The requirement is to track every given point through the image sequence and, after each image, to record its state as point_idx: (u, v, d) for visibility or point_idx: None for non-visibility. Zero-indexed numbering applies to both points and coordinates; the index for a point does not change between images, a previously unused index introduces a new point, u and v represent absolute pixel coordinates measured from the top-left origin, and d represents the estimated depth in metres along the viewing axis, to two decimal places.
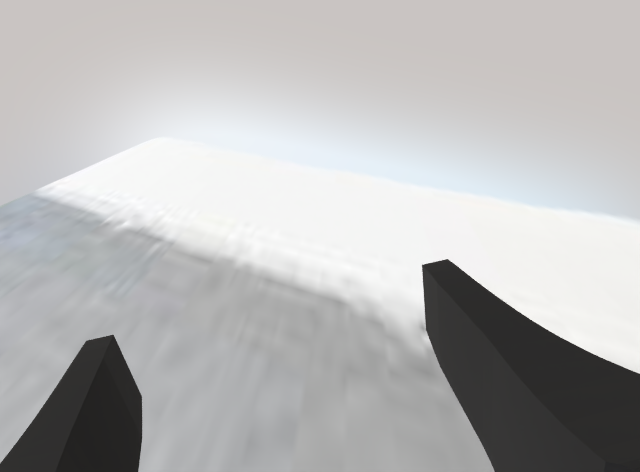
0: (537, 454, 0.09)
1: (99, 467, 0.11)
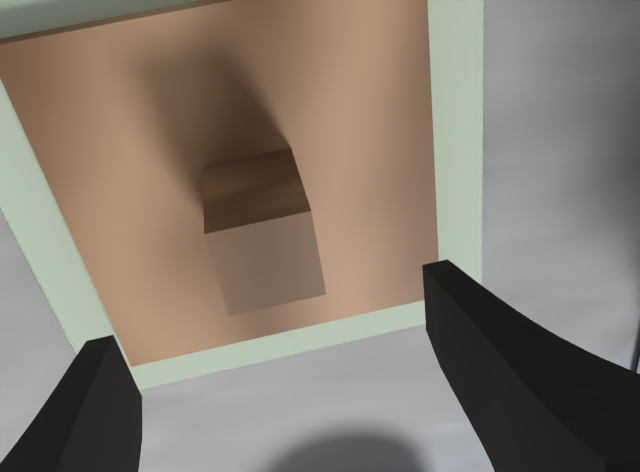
0: (537, 454, 0.09)
1: (99, 467, 0.11)
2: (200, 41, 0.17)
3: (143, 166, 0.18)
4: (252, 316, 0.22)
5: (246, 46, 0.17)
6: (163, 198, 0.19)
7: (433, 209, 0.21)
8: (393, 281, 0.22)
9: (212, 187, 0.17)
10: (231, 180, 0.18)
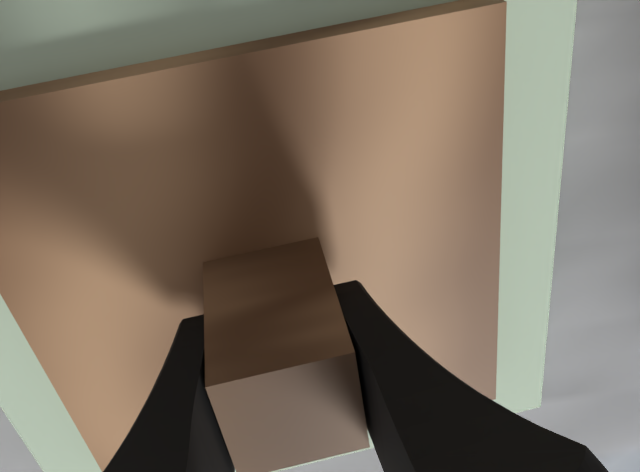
0: None
1: (212, 440, 0.11)
2: (199, 108, 0.12)
3: (124, 265, 0.14)
4: None
5: (261, 113, 0.12)
6: (151, 302, 0.15)
7: (494, 303, 0.17)
8: None
9: (215, 300, 0.13)
10: (241, 289, 0.13)
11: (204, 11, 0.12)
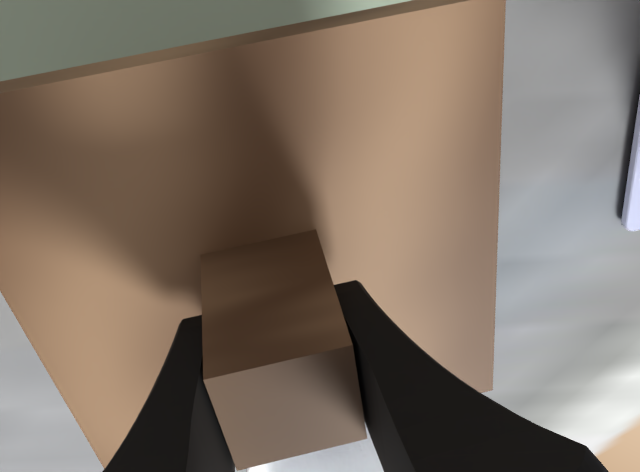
0: None
1: (212, 440, 0.11)
2: (196, 100, 0.12)
3: (121, 257, 0.14)
4: None
5: (259, 105, 0.12)
6: (149, 294, 0.15)
7: (491, 295, 0.17)
8: None
9: (213, 292, 0.13)
10: (238, 281, 0.13)
11: None
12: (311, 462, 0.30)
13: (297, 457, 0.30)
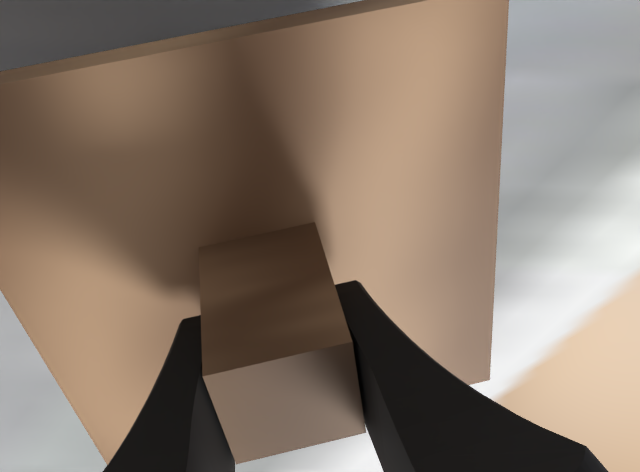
0: None
1: (212, 440, 0.11)
2: (194, 92, 0.12)
3: (119, 250, 0.14)
4: None
5: (258, 97, 0.12)
6: (147, 286, 0.14)
7: (490, 286, 0.17)
8: None
9: (211, 286, 0.13)
10: (237, 275, 0.13)
11: None
12: None
13: None
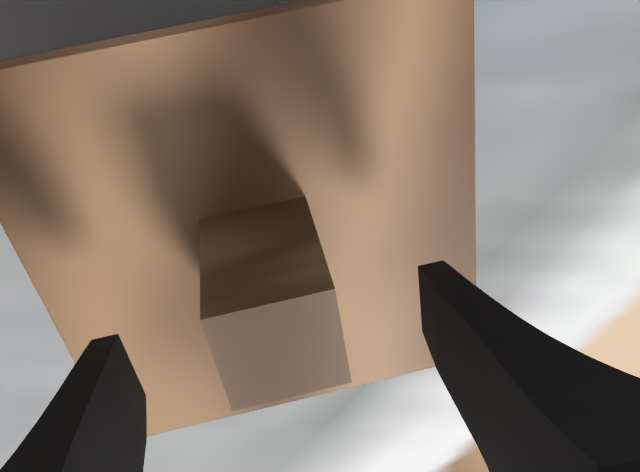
0: (530, 455, 0.09)
1: (105, 466, 0.11)
2: (194, 73, 0.13)
3: (127, 221, 0.15)
4: None
5: (251, 78, 0.14)
6: (152, 257, 0.16)
7: (472, 262, 0.18)
8: (423, 342, 0.19)
9: (210, 249, 0.14)
10: (233, 240, 0.14)
11: None
12: None
13: None
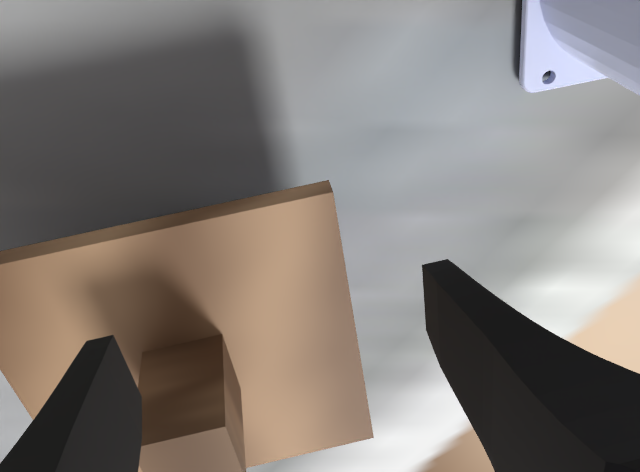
0: (537, 454, 0.09)
1: (99, 467, 0.11)
2: (132, 261, 0.19)
3: None
4: None
5: (174, 262, 0.19)
6: None
7: (359, 372, 0.23)
8: (327, 428, 0.24)
9: (146, 383, 0.19)
10: (163, 375, 0.20)
11: None
12: None
13: None
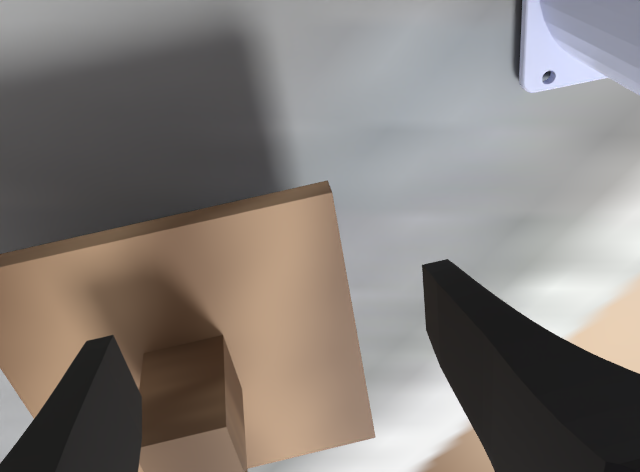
0: (537, 454, 0.09)
1: (99, 467, 0.11)
2: (132, 263, 0.19)
3: None
4: None
5: (174, 263, 0.19)
6: None
7: (360, 372, 0.23)
8: (329, 428, 0.24)
9: (147, 384, 0.19)
10: (165, 376, 0.20)
11: None
12: None
13: None
